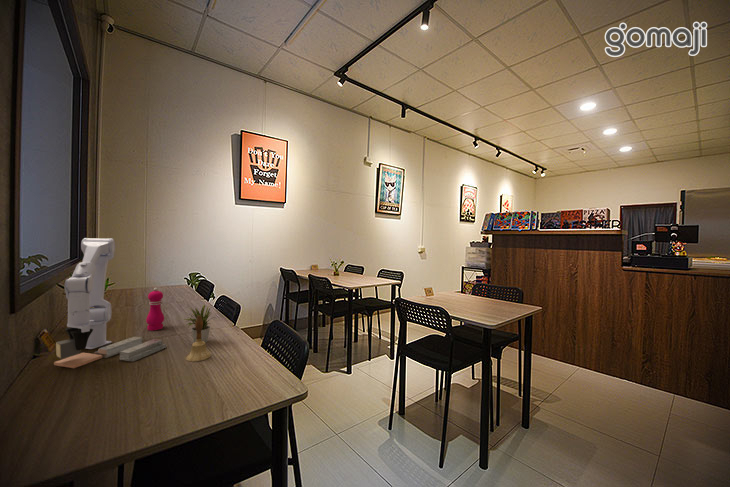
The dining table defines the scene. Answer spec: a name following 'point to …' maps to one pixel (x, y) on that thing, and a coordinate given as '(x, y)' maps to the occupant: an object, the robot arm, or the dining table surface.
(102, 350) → the parallel gray bars
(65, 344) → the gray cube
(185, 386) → the dining table surface
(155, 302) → the pepper mill
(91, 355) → the pad
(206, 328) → the house plant
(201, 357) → the hand bell
